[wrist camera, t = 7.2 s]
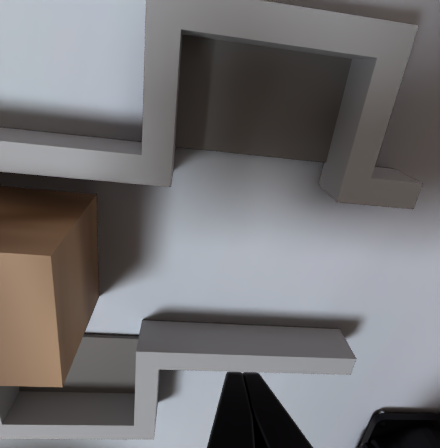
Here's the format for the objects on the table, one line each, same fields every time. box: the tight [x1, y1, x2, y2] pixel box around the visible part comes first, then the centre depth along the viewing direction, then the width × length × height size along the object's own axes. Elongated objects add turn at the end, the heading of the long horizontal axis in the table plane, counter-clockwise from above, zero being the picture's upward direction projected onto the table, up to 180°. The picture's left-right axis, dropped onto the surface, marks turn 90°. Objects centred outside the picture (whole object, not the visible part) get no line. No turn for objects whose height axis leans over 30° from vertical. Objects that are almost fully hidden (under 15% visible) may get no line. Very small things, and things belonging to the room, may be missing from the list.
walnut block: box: [0, 186, 99, 387], centre depth 12 cm, size 5×5×5 cm
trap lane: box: [0, 0, 423, 439], centre depth 14 cm, size 18×19×3 cm
